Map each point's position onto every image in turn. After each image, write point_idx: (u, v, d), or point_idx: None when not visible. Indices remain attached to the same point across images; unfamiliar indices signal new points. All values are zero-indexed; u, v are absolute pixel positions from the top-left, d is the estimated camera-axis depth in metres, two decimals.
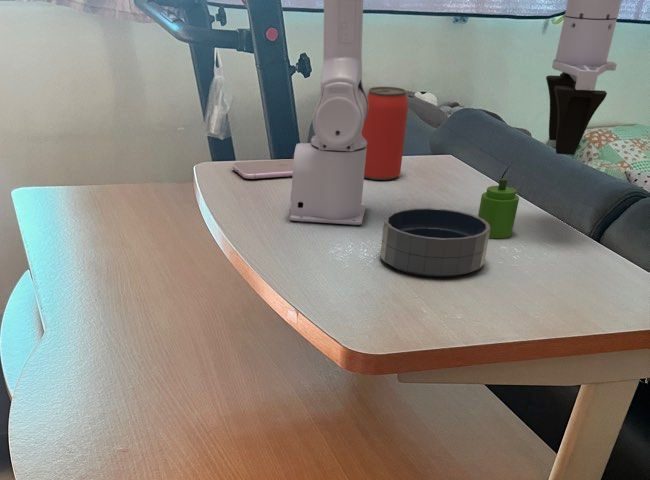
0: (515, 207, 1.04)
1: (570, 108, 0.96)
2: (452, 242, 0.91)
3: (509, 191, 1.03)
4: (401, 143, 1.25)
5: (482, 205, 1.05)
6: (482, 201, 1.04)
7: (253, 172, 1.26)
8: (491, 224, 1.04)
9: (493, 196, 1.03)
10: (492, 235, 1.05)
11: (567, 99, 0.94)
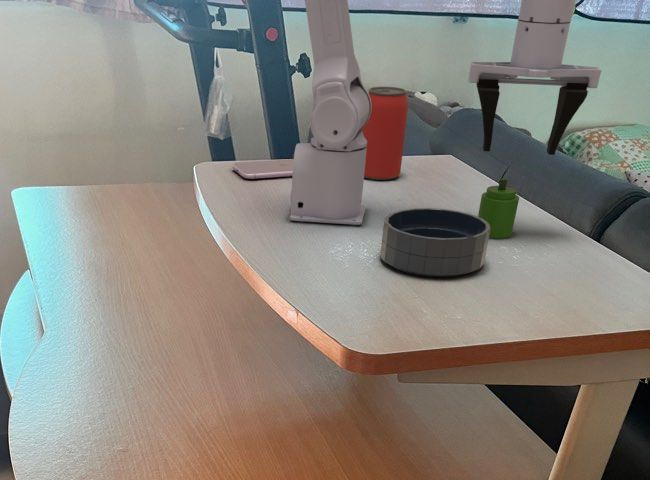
0: (515, 207, 1.04)
1: None
2: (452, 242, 0.91)
3: (509, 191, 1.03)
4: (401, 143, 1.25)
5: (482, 205, 1.05)
6: (482, 201, 1.04)
7: (253, 172, 1.26)
8: (491, 224, 1.04)
9: (493, 196, 1.03)
10: (492, 235, 1.05)
11: None
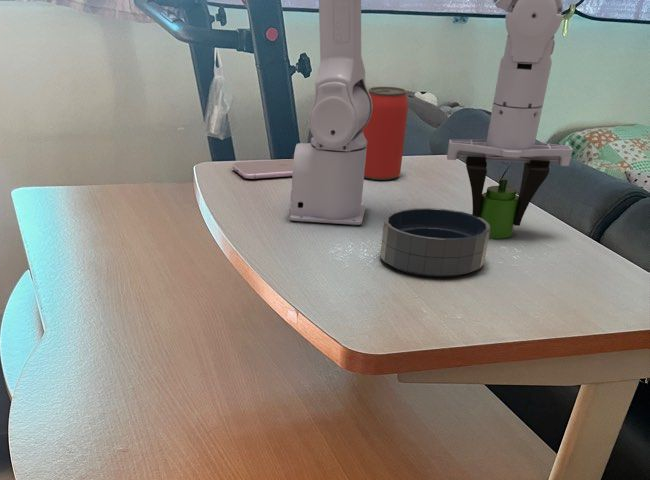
0: (515, 207, 1.04)
1: None
2: (452, 242, 0.91)
3: (509, 191, 1.03)
4: (401, 143, 1.25)
5: (482, 205, 1.05)
6: (482, 201, 1.04)
7: (253, 172, 1.26)
8: (491, 224, 1.04)
9: (493, 196, 1.03)
10: (492, 235, 1.05)
11: None
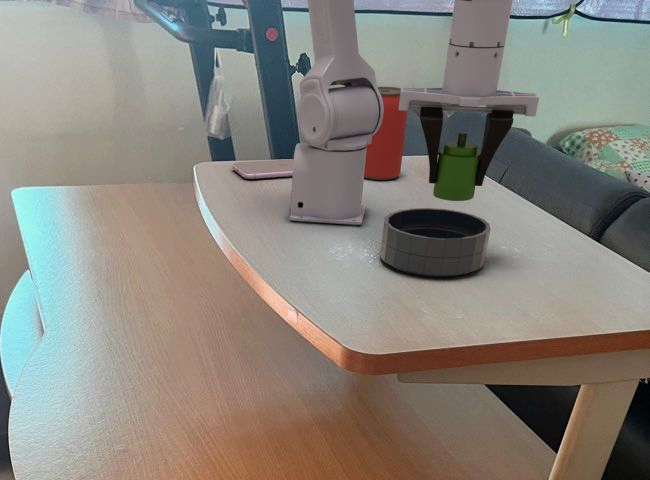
0: (476, 165, 0.92)
1: None
2: (452, 242, 0.91)
3: (469, 146, 0.91)
4: (401, 143, 1.25)
5: (439, 163, 0.93)
6: (439, 158, 0.93)
7: (253, 172, 1.26)
8: (450, 184, 0.93)
9: (451, 152, 0.91)
10: (451, 197, 0.93)
11: None
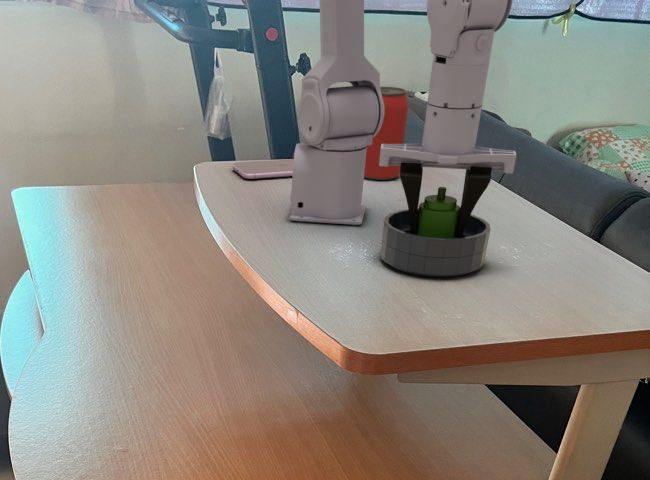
0: (456, 219, 0.93)
1: None
2: (452, 242, 0.91)
3: (448, 201, 0.93)
4: (401, 143, 1.25)
5: (419, 217, 0.94)
6: (419, 212, 0.94)
7: (253, 172, 1.26)
8: None
9: (431, 207, 0.93)
10: None
11: None
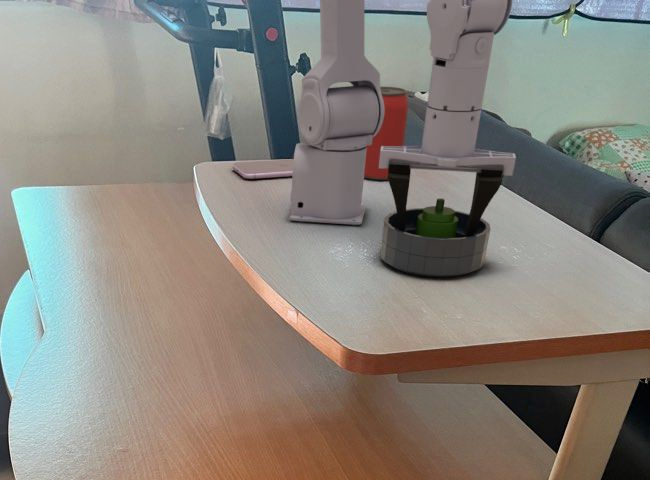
0: (454, 230, 0.94)
1: None
2: (452, 242, 0.91)
3: (447, 212, 0.94)
4: (401, 143, 1.25)
5: (418, 228, 0.95)
6: (418, 223, 0.95)
7: (253, 172, 1.26)
8: None
9: (429, 218, 0.94)
10: None
11: None
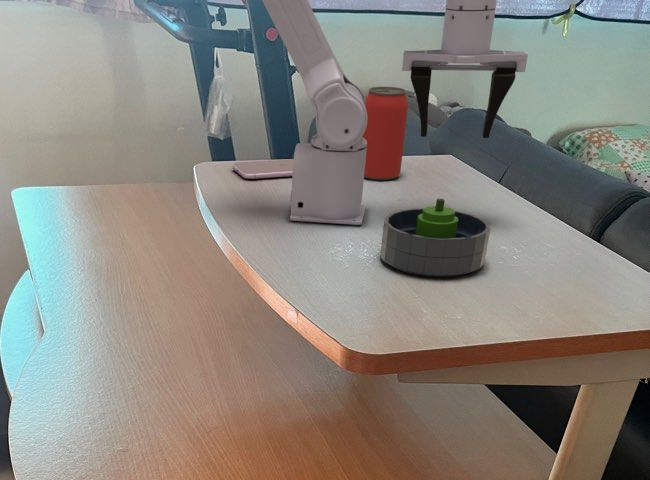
0: (454, 230, 0.94)
1: None
2: (452, 242, 0.91)
3: (447, 212, 0.94)
4: (401, 143, 1.25)
5: (418, 228, 0.95)
6: (418, 223, 0.95)
7: (253, 172, 1.26)
8: None
9: (429, 218, 0.94)
10: None
11: None
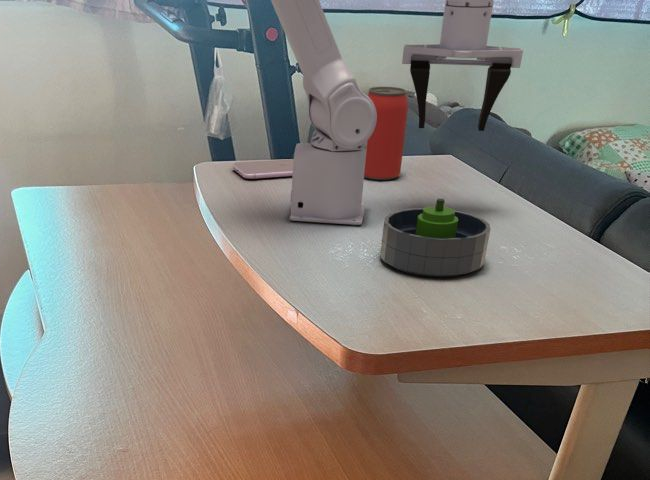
0: (454, 230, 0.94)
1: None
2: (452, 242, 0.91)
3: (447, 212, 0.94)
4: (401, 143, 1.25)
5: (418, 228, 0.95)
6: (418, 223, 0.95)
7: (253, 172, 1.26)
8: None
9: (429, 218, 0.94)
10: None
11: None
